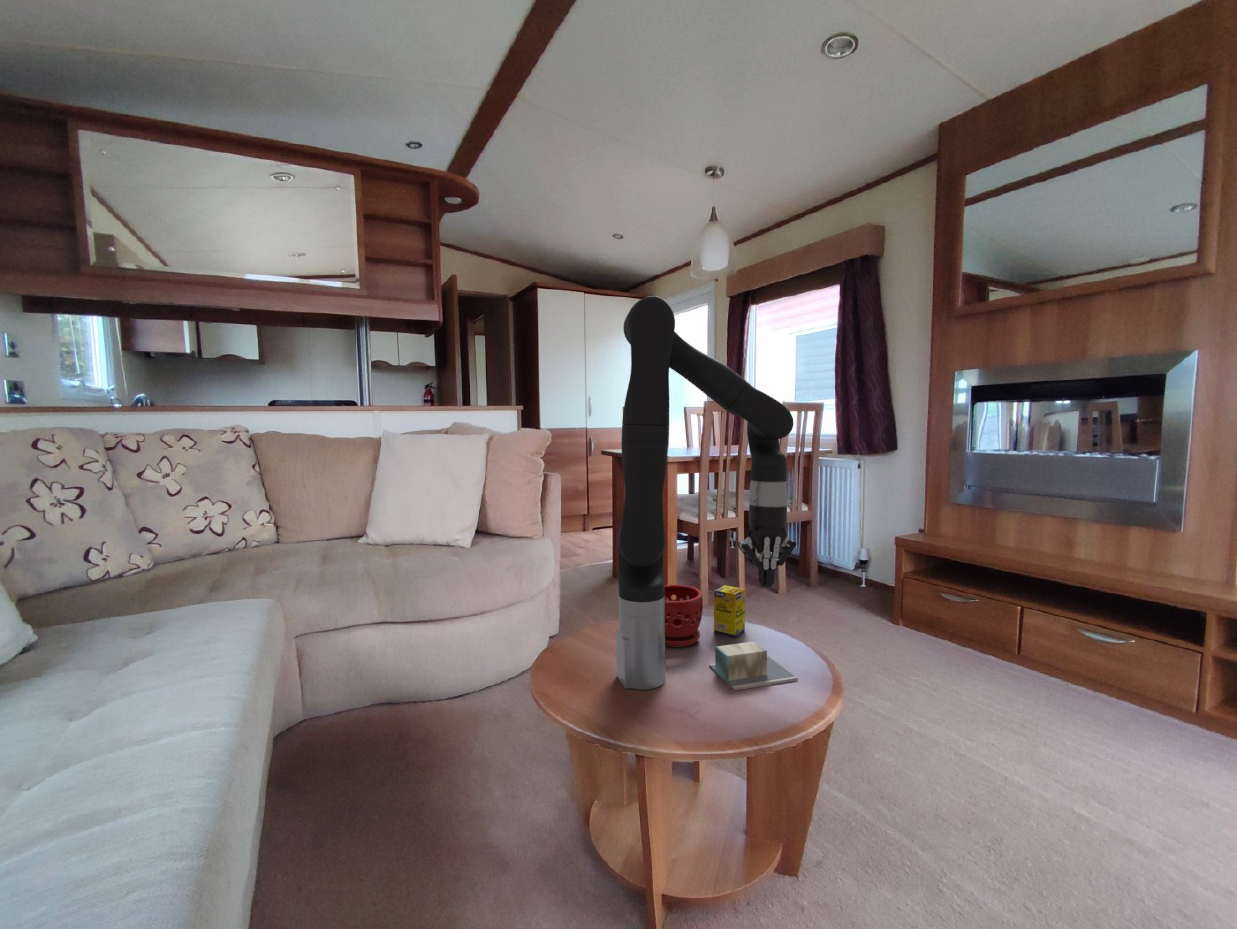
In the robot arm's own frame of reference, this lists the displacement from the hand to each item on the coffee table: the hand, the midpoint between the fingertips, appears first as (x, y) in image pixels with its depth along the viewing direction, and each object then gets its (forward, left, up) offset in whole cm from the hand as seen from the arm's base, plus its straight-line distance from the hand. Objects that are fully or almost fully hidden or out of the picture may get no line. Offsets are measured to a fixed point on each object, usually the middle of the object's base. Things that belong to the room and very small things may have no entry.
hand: (766, 586), depth 106 cm
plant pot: (-12, +21, -18) cm, 30 cm away
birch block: (-1, 0, -15) cm, 15 cm away
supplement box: (+3, +22, -18) cm, 29 cm away
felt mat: (-3, 0, -18) cm, 18 cm away
